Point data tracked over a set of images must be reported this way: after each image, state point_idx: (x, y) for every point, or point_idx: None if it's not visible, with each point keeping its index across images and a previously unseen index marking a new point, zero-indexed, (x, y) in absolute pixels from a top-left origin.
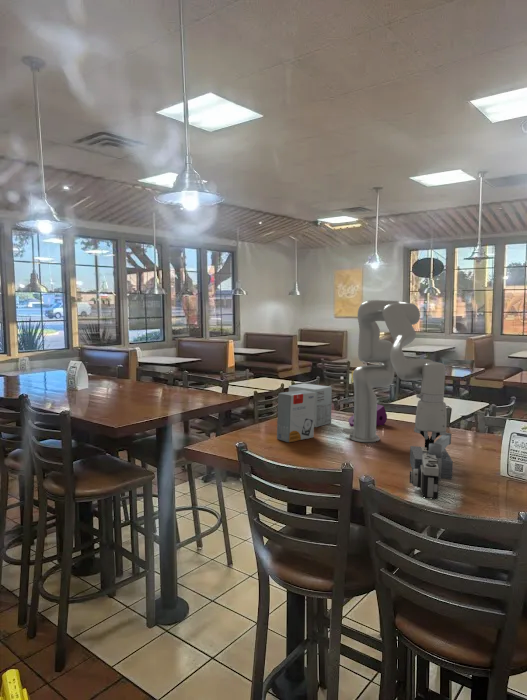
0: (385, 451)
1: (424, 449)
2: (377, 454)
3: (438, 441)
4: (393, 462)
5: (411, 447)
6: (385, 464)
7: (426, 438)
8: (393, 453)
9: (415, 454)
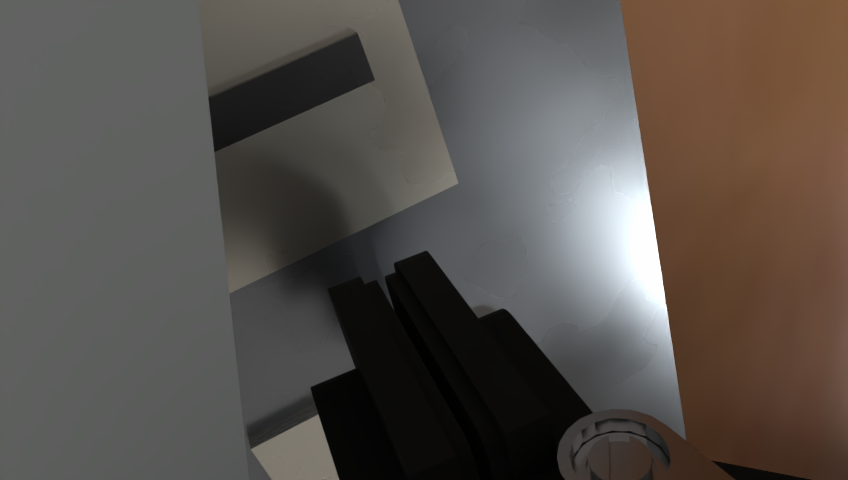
0: (778, 430)
1: None
2: (843, 312)
3: (124, 446)
4: (711, 183)
5: (670, 392)
6: (788, 52)
7: (597, 441)
8: (718, 432)
9: (587, 38)
